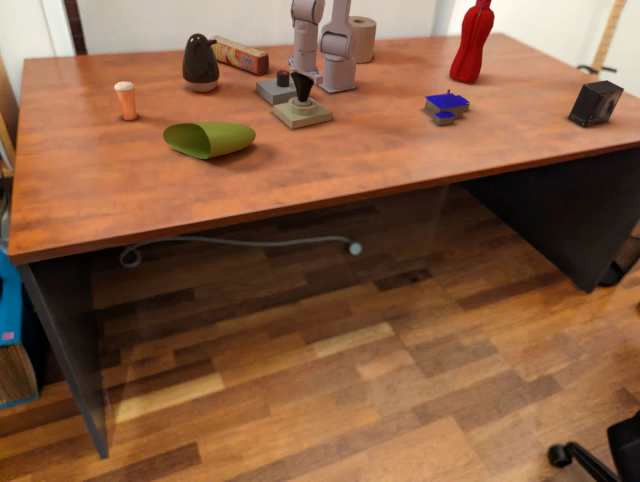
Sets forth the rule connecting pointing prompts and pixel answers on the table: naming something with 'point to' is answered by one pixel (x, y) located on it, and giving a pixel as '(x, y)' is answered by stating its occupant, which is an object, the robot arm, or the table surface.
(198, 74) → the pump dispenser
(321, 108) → the button base
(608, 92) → the small box
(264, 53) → the snack package
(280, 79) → the lock dial
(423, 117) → the table surface
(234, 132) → the green scoop
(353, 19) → the toilet paper roll
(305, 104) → the button
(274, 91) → the dial panel
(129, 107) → the milkshake
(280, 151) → the table surface
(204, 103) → the table surface
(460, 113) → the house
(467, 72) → the water bottle
